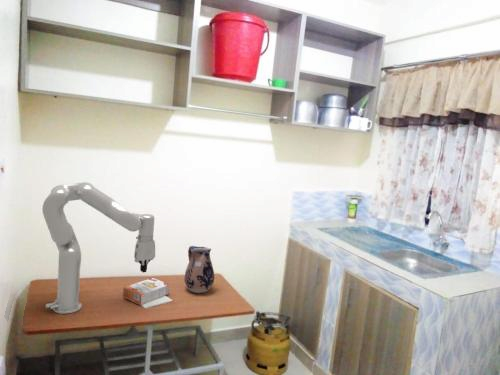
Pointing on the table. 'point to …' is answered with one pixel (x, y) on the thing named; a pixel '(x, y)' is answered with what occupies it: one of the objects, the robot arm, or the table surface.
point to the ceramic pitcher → (199, 270)
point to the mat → (157, 302)
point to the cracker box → (146, 291)
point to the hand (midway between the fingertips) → (143, 271)
